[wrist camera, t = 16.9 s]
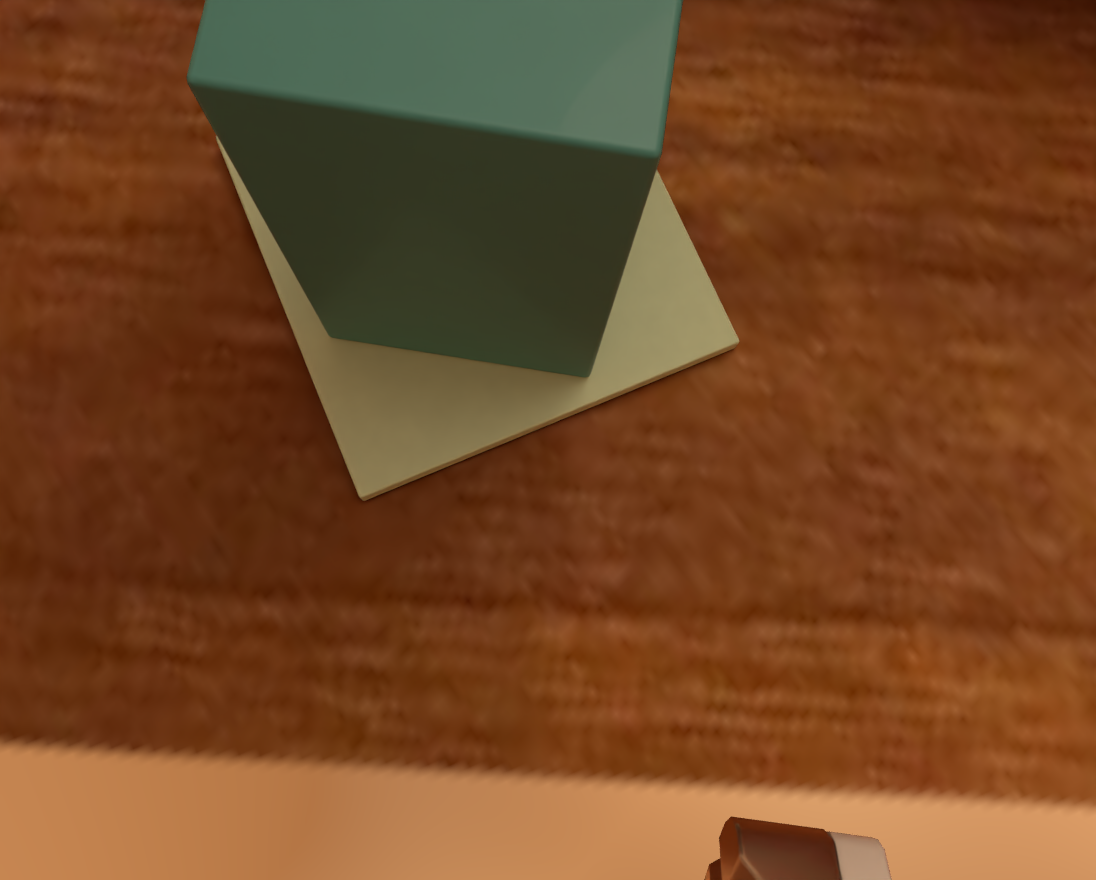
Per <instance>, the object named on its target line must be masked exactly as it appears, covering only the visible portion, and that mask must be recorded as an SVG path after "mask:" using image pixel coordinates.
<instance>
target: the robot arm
mask: <svg viewBox="0 0 1096 880" xmlns="http://www.w3.org/2000/svg"><path fill="white" fill-rule="evenodd" d="M719 842H720V857H721V858H720V859H718V860H716V861H715V862H713V863H711V864H709V867H708V870H707V873H706V876H705V879H704V880H892V879H891V875H890V870H889V867H888V862H887V858H886V854H885V849H884V848H883V847H882V845H881V844H880V842H879V840H878V839H875V838H871V837H863V836H857V835H850V834H842V833H835V832H826V831H825V830H824V829H818V828H810V827H802V826H796V825H789V824H780V823H774V822H766V821H759V820H752V819H745V818H737V817H730V818H729V819H728V820H727V821H726V822H725V824H724V827H723V829H722V832H721V835H720V837H719Z"/></svg>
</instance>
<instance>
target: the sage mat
mask: <svg viewBox="0 0 1096 880" xmlns="http://www.w3.org/2000/svg"><path fill="white" fill-rule="evenodd" d="M216 140H217V143H218V145H219V148H220V150H221V153H222V155H223V158H224V160H225V163H226V165H227V168H228V170H229V173H230V175H231V178H232V180H233V183H234V185H235V188H236V190H237V193H238V195H239V198H240V200H241V203H242V205H243V208H244V210H245V213H246V215H247V218H248V220H249V223H250V225H251V228H252V230H253V233H254V235H255V238H256V240H257V243H258V245H259V248H260V250H261V253H262V255H263V258H264V260H265V263H266V265H267V268H268V270H269V273H270V275H271V278H272V280H273V283H274V285H275V288H276V290H277V293H278V295H279V298H280V300H281V303H282V305H283V308H284V310H285V313H286V315H287V318H288V320H289V323H290V325H291V328H292V330H293V333H294V335H295V338H296V340H297V343H298V345H299V348H300V350H301V353H302V355H303V358H304V360H305V363H306V365H307V368H308V370H309V373H310V375H311V378H312V380H313V383H314V385H315V388H316V390H317V393H318V395H319V398H320V400H321V403H322V405H323V408H324V410H325V413H326V415H327V418H328V420H329V423H330V425H331V428H332V430H333V433H334V435H335V438H336V440H337V443H338V445H339V448H340V450H341V453H342V455H343V458H344V460H345V463H346V465H347V468H348V470H349V473H350V475H351V478H352V480H353V483H354V485H355V488H356V490H357V493H358V495H359V497H360V498H361V499H362V500H363V501H365V500H368V499H370V498H373V497H375V496H378V495H380V494H382V493H385V492H387V491H390V490H392V489H394V488H397V487H399V486H402V485H404V484H407V483H409V482H411V481H414V480H416V479H419V478H421V477H424V476H426V475H428V474H431V473H433V472H436V471H438V470H441V469H443V468H445V467H448V466H450V465H453V464H455V463H458V462H460V461H462V460H465V459H467V458H470V457H472V456H474V455H477V454H479V453H482V452H484V451H487V450H489V449H491V448H494V447H496V446H499V445H501V444H504V443H506V442H508V441H511V440H513V439H516V438H518V437H521V436H523V435H525V434H528V433H530V432H533V431H535V430H538V429H540V428H542V427H545V426H547V425H550V424H552V423H554V422H557V421H559V420H562V419H564V418H567V417H569V416H571V415H574V414H576V413H579V412H581V411H584V410H586V409H588V408H591V407H593V406H596V405H598V404H601V403H603V402H605V401H608V400H610V399H613V398H615V397H618V396H620V395H622V394H625V393H627V392H630V391H632V390H634V389H637V388H639V387H642V386H644V385H647V384H649V383H651V382H654V381H656V380H659V379H661V378H664V377H666V376H668V375H671V374H673V373H676V372H678V371H681V370H683V369H685V368H688V367H690V366H693V365H695V364H698V363H700V362H702V361H705V360H707V359H710V358H712V357H714V356H717V355H719V354H722V353H724V352H727V351H729V350H731V349H734V348H735V347H736V345H737V344H738V343H739V339H738V337H737V335H736V333H735V331H734V329H733V327H732V324H731V322H730V320H729V318H728V316H727V314H726V312H725V310H724V308H723V306H722V304H721V302H720V300H719V297H718V295H717V293H716V291H715V289H714V287H713V285H712V283H711V281H710V279H709V277H708V275H707V273H706V270H705V268H704V266H703V264H702V262H701V260H700V258H699V256H698V254H697V252H696V250H695V248H694V246H693V243H692V241H691V239H690V237H689V235H688V233H687V231H686V229H685V227H684V225H683V223H682V221H681V219H680V216H679V214H678V212H677V210H676V208H675V206H674V204H673V202H672V200H671V198H670V196H669V194H668V192H667V189H666V187H665V185H664V183H663V181H662V179H661V177H660V175H659V173H658V171H657V170H656V173H655V176H654V179H653V182H652V185H651V188H650V192H649V195H648V198H647V201H646V204H645V207H644V210H643V213H642V216H641V220H640V223H639V226H638V229H637V232H636V235H635V238H634V241H633V244H632V248H631V251H630V254H629V257H628V260H627V263H626V266H625V269H624V272H623V276H622V279H621V282H620V285H619V288H618V291H617V294H616V297H615V300H614V304H613V307H612V310H611V313H610V316H609V319H608V322H607V325H606V328H605V332H604V335H603V338H602V341H601V344H600V347H599V350H598V353H597V356H596V360H595V363H594V366H593V369H592V372H591V374H590V376H589V377H579V376H572V375H566V374H560V373H553V372H547V371H541V370H534V369H528V368H522V367H515V366H509V365H503V364H496V363H490V362H484V361H477V360H471V359H464V358H458V357H452V356H445V355H439V354H433V353H426V352H420V351H414V350H407V349H401V348H395V347H388V346H382V345H376V344H369V343H363V342H357V341H350V340H344V339H338V338H332V337H330V336H328V334H327V332H326V330H325V328H324V327H323V325H322V323H321V321H320V319H319V318H318V316H317V314H316V312H315V310H314V309H313V307H312V305H311V303H310V302H309V300H308V298H307V296H306V294H305V293H304V291H303V289H302V287H301V285H300V284H299V282H298V280H297V278H296V276H295V275H294V273H293V271H292V269H291V268H290V266H289V264H288V262H287V260H286V259H285V257H284V255H283V253H282V251H281V250H280V248H279V246H278V244H277V242H276V241H275V239H274V237H273V235H272V233H271V232H270V230H269V228H268V226H267V225H266V223H265V221H264V219H263V217H262V216H261V214H260V212H259V210H258V208H257V207H256V205H255V203H254V201H253V199H252V198H251V196H250V194H249V192H248V191H247V189H246V187H245V185H244V183H243V182H242V180H241V178H240V176H239V174H238V173H237V171H236V169H235V167H234V165H233V164H232V162H231V160H230V158H229V157H228V155H227V153H226V151H225V149H224V148H223V146H222V144H221V142H220V140H219V139H218V137H217V136H216Z"/></svg>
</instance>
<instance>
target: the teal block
mask: <svg viewBox="0 0 1096 880" xmlns="http://www.w3.org/2000/svg"><path fill="white" fill-rule="evenodd" d="M682 4H683V0H206V1H205V5H204V9H203V13H202V17H201V21H200V25H199V29H198V33H197V37H196V41H195V45H194V49H193V53H192V57H191V61H190V65H189V69H188V73H187V82H188V85H189V87H190V88H191V90H192V92H193V94H194V96H195V97H196V99H197V101H198V103H199V105H200V106H201V108H202V110H203V112H204V114H205V115H206V117H207V119H208V121H209V123H210V124H211V126H212V128H213V130H214V131H215V133H216V135H217V137H218V139H219V140H220V142H221V144H222V146H223V148H224V149H225V151H226V153H227V155H228V157H229V158H230V160H231V162H232V164H233V165H234V167H235V169H236V171H237V173H238V174H239V176H240V178H241V180H242V182H243V183H244V185H245V187H246V189H247V191H248V192H249V194H250V196H251V198H252V199H253V201H254V203H255V205H256V207H257V208H258V210H259V212H260V214H261V216H262V217H263V219H264V221H265V223H266V225H267V226H268V228H269V230H270V232H271V233H272V235H273V237H274V239H275V241H276V242H277V244H278V246H279V248H280V250H281V251H282V253H283V255H284V257H285V259H286V260H287V262H288V264H289V266H290V268H291V269H292V271H293V273H294V275H295V276H296V278H297V280H298V282H299V284H300V285H301V287H302V289H303V291H304V293H305V294H306V296H307V298H308V300H309V302H310V303H311V305H312V307H313V309H314V310H315V312H316V314H317V316H318V318H319V319H320V321H321V323H322V325H323V327H324V328H325V330H326V332H327V334H328V336H330V337H332V338H338V339H344V340H350V341H357V342H363V343H369V344H376V345H382V346H388V347H395V348H401V349H407V350H414V351H420V352H426V353H433V354H439V355H445V356H452V357H458V358H464V359H471V360H477V361H484V362H490V363H496V364H503V365H509V366H515V367H522V368H528V369H534V370H541V371H547V372H553V373H560V374H566V375H572V376H579V377H589V376H590V374H591V372H592V369H593V366H594V363H595V360H596V356H597V353H598V350H599V347H600V344H601V341H602V338H603V335H604V332H605V328H606V325H607V322H608V319H609V316H610V313H611V310H612V307H613V304H614V300H615V297H616V294H617V291H618V288H619V285H620V282H621V279H622V276H623V272H624V269H625V266H626V263H627V260H628V257H629V254H630V251H631V248H632V244H633V241H634V238H635V235H636V232H637V229H638V226H639V223H640V220H641V216H642V213H643V210H644V207H645V204H646V201H647V198H648V195H649V192H650V188H651V185H652V182H653V179H654V176H655V173H656V170H657V167H658V163H659V160H660V157H661V154H662V148H663V140H664V133H665V126H666V119H667V112H668V104H669V97H670V90H671V83H672V76H673V68H674V61H675V54H676V47H677V40H678V32H679V25H680V18H681V11H682Z"/></svg>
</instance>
